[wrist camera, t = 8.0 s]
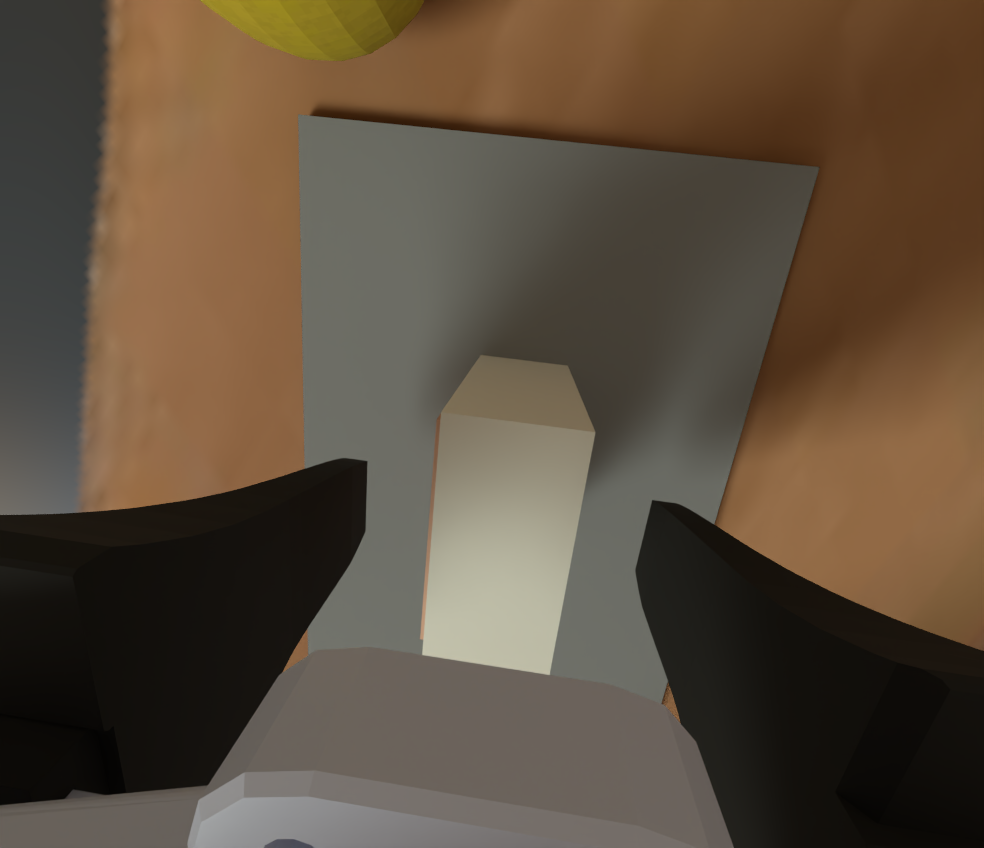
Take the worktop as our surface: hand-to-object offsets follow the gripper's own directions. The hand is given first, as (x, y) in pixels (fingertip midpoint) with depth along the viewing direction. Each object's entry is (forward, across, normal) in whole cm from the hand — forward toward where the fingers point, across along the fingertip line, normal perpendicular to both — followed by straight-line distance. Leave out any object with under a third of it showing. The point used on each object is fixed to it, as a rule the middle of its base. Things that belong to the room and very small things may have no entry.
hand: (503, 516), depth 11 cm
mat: (+3, 0, 0) cm, 3 cm away
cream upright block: (+3, 0, -1) cm, 3 cm away
